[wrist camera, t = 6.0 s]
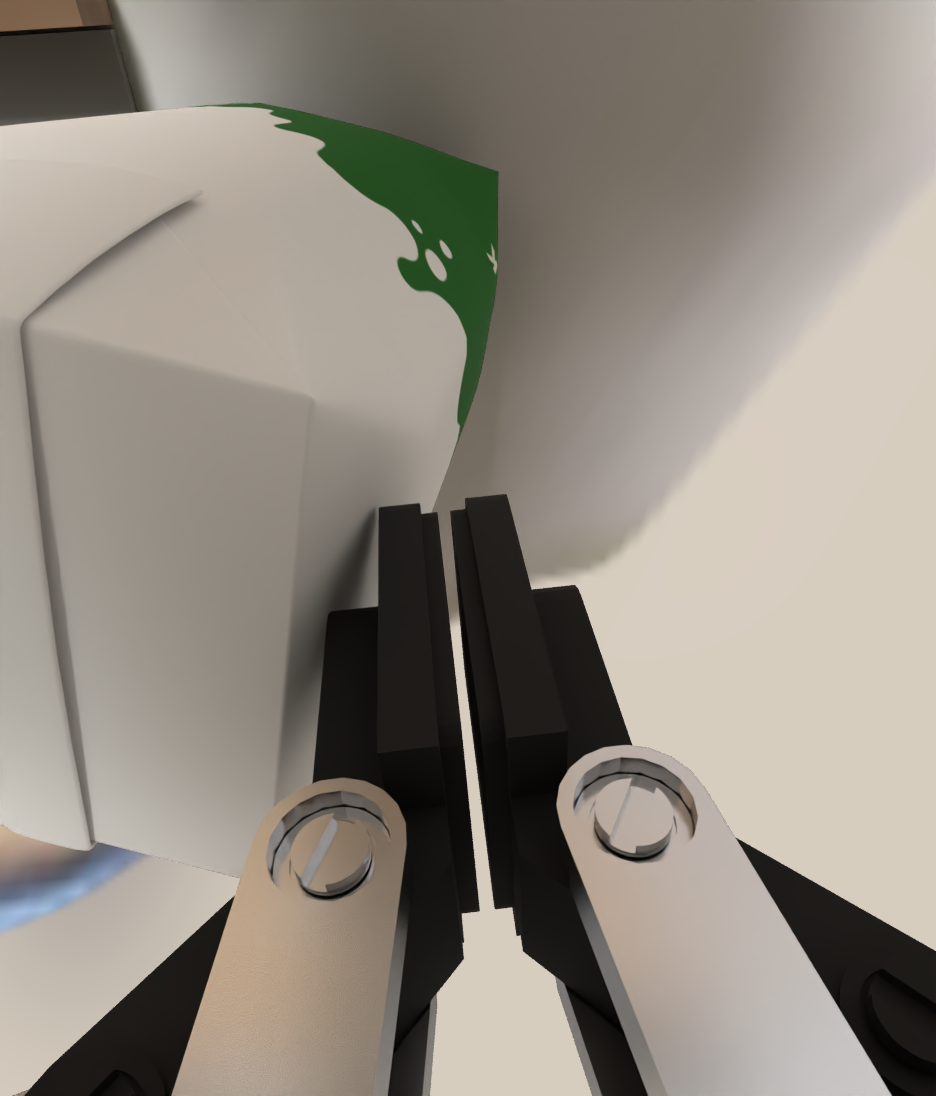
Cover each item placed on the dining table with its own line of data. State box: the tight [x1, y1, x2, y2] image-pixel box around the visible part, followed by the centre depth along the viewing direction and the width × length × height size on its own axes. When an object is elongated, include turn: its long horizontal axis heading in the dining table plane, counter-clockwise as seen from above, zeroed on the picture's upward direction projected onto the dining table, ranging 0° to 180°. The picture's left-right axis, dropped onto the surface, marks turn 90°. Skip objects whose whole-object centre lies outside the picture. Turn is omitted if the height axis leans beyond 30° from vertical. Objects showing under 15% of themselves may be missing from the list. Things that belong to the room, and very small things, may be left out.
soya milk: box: [0, 103, 499, 878], centre depth 15 cm, size 9×9×20 cm
